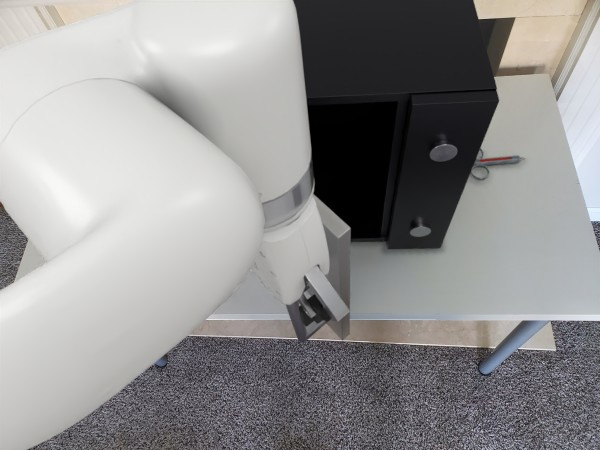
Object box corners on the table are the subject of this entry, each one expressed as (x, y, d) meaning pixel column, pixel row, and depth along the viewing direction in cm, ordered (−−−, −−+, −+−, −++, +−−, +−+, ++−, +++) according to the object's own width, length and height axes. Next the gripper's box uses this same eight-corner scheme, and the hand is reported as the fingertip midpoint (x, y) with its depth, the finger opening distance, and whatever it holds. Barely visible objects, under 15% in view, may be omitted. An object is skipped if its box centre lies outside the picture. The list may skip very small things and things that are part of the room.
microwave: (440, 253, 76) (501, 104, 46) (262, 255, 79) (210, 118, 49) (421, 120, 91) (458, -58, 61) (272, 126, 94) (237, -40, 64)
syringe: (538, 177, 82) (542, 171, 80) (440, 185, 83) (441, 180, 82) (526, 144, 86) (529, 138, 84) (432, 153, 87) (433, 147, 85)
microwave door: (315, 365, 69) (289, 278, 39) (234, 271, 78) (162, 142, 48) (349, 334, 71) (351, 227, 41) (266, 246, 80) (217, 106, 50)
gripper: (143, 129, 32) (207, 241, 46) (291, 305, 24) (311, 373, 39) (230, 77, 34) (265, 201, 48) (392, 226, 26) (374, 319, 41)
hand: (285, 277), depth 44 cm, fingers open, 9 cm apart
